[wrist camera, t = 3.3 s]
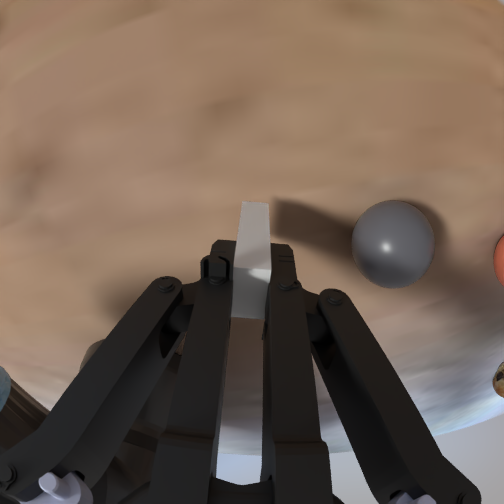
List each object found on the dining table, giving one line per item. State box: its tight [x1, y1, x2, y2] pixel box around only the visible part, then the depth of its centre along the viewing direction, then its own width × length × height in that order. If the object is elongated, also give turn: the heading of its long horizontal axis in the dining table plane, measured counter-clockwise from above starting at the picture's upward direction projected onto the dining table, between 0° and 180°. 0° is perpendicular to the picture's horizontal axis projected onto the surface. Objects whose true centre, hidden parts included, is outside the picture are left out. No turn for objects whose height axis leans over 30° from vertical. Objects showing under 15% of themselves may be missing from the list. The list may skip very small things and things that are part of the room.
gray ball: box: [351, 200, 435, 288], centre depth 18 cm, size 6×6×6 cm
